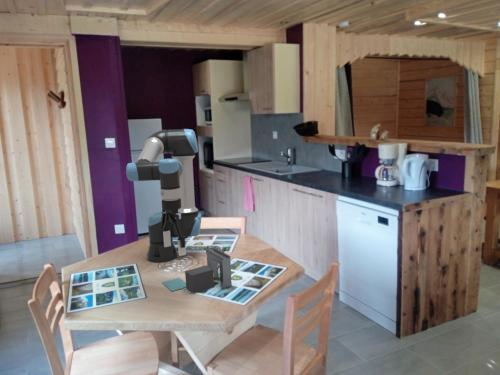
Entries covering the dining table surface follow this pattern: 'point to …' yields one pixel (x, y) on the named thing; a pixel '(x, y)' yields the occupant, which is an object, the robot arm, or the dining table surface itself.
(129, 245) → the dining table surface
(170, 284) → the mat
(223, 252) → the mechanical component
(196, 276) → the plug
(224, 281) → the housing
